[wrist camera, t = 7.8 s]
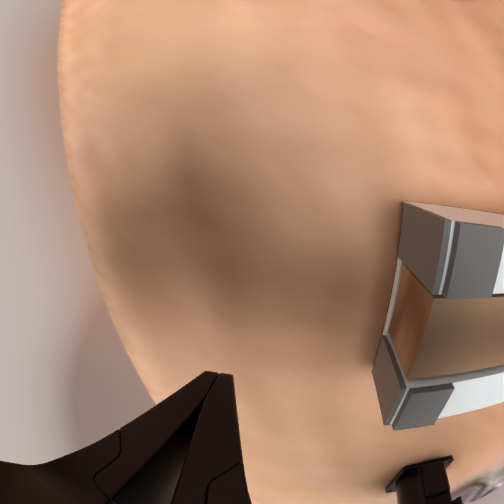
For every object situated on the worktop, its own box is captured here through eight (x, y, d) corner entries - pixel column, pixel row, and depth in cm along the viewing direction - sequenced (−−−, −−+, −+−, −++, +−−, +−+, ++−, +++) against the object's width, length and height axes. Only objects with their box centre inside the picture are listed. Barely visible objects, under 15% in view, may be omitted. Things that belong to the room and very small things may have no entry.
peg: (509, 323, 12) (538, 355, 8) (388, 331, 14) (407, 379, 10) (526, 268, 11) (562, 292, 7) (402, 263, 12) (433, 298, 9)
